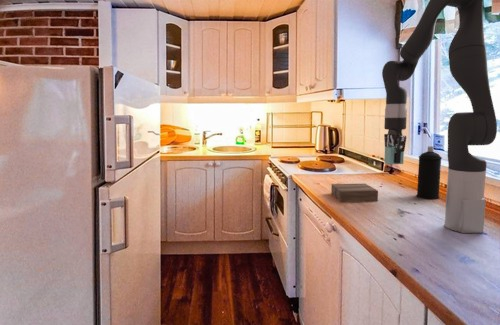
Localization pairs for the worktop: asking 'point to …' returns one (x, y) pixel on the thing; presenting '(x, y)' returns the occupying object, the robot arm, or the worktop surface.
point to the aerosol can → (429, 175)
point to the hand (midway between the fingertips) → (393, 161)
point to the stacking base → (354, 192)
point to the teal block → (391, 156)
